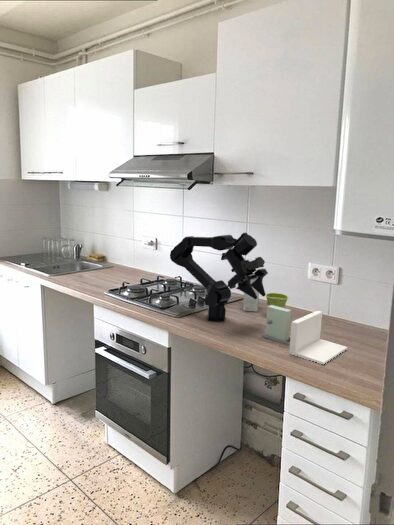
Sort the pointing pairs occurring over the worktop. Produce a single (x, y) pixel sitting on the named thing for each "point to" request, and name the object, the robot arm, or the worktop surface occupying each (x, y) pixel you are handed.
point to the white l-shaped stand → (310, 340)
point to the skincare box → (251, 302)
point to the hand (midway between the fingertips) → (260, 297)
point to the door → (278, 322)
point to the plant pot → (276, 299)
